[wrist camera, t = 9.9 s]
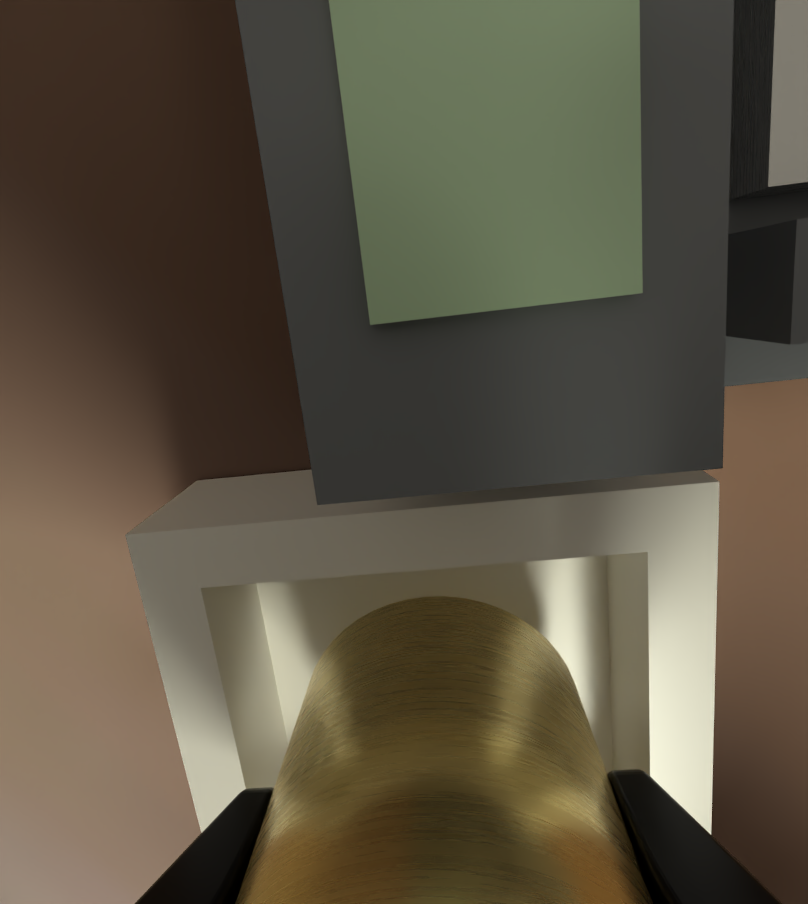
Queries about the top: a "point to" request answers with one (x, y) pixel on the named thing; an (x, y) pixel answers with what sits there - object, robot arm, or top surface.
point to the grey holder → (515, 238)
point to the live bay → (427, 575)
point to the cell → (442, 773)
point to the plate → (769, 98)
